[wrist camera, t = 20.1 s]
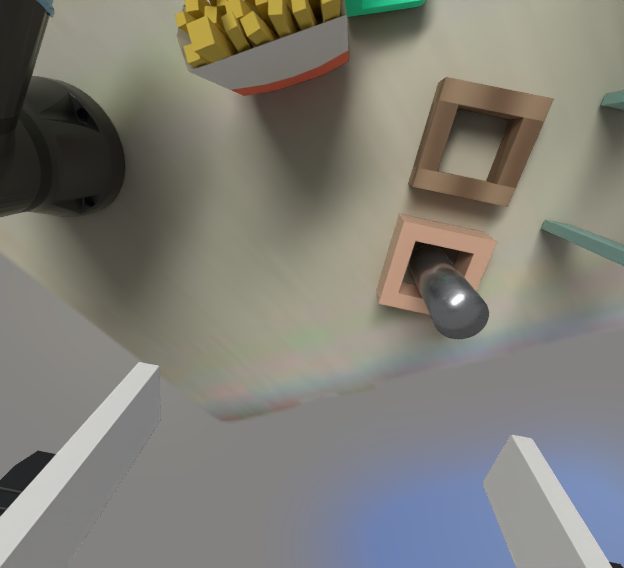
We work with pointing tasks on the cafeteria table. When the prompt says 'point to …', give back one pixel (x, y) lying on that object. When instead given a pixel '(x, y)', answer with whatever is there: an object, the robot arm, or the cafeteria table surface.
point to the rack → (411, 229)
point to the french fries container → (262, 41)
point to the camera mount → (378, 6)
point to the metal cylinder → (447, 294)
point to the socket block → (513, 149)
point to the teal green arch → (585, 238)
